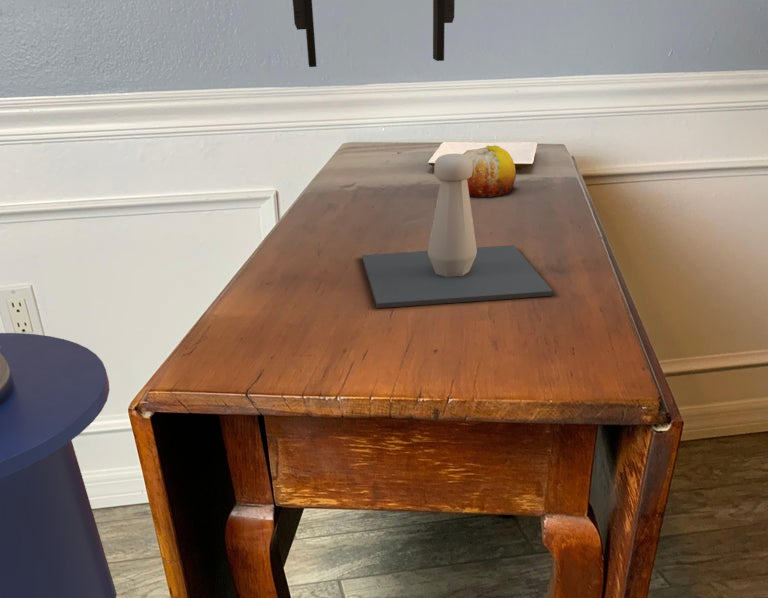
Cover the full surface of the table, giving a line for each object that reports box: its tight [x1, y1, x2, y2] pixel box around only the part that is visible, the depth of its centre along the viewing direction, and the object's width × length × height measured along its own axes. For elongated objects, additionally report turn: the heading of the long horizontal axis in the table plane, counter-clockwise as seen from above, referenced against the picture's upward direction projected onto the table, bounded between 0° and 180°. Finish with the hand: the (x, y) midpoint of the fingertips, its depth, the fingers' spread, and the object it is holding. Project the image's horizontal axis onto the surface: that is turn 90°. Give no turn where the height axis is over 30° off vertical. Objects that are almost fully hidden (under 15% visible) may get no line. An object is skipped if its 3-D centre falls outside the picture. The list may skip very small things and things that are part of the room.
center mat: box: [361, 244, 554, 309], centre depth 96 cm, size 20×18×1 cm
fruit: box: [463, 146, 517, 198], centre depth 130 cm, size 11×10×8 cm
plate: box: [427, 141, 538, 171], centre depth 148 cm, size 19×19×2 cm
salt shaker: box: [427, 154, 478, 277], centre depth 92 cm, size 6×6×13 cm
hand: (375, 63), depth 85 cm, fingers open, 13 cm apart
